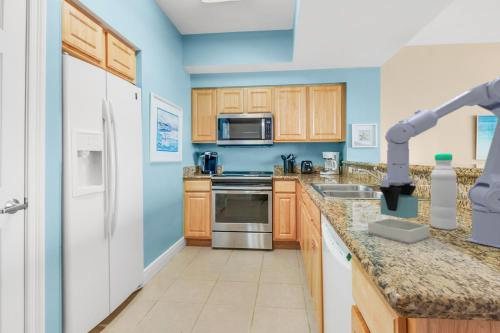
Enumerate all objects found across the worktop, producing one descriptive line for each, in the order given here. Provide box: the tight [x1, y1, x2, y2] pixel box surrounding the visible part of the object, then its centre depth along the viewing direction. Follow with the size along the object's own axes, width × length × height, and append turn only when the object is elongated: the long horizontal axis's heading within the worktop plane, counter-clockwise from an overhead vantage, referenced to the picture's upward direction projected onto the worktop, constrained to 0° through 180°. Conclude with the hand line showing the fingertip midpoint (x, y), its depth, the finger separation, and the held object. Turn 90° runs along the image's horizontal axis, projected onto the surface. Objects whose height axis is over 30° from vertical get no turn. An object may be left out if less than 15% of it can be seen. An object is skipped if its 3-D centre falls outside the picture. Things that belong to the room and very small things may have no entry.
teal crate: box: [380, 194, 419, 220], centre depth 76 cm, size 6×8×6 cm
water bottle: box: [429, 153, 458, 231], centre depth 85 cm, size 7×7×25 cm
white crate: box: [367, 217, 431, 245], centre depth 76 cm, size 11×12×4 cm
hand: (397, 209), depth 76 cm, fingers closed on teal crate, 6 cm apart
